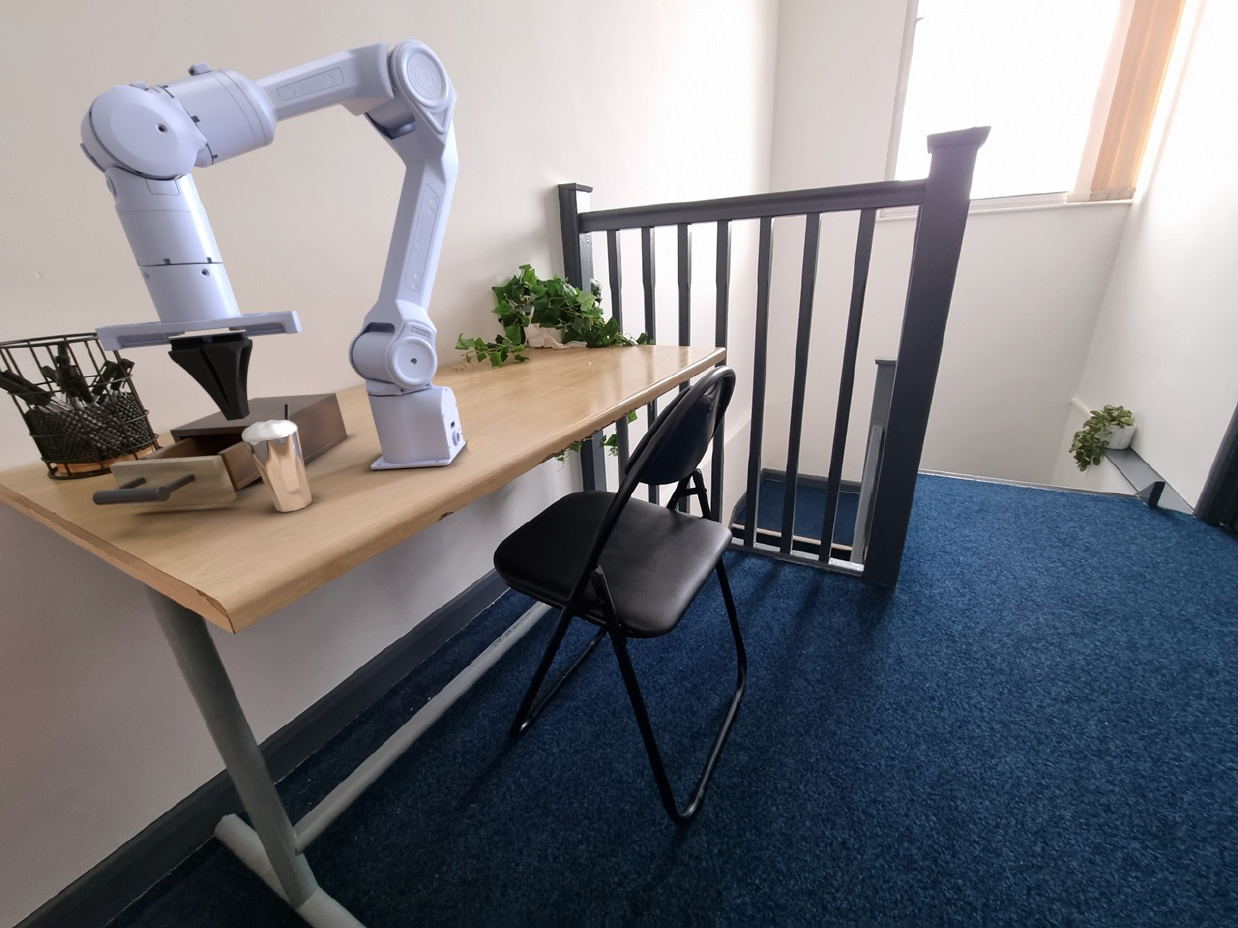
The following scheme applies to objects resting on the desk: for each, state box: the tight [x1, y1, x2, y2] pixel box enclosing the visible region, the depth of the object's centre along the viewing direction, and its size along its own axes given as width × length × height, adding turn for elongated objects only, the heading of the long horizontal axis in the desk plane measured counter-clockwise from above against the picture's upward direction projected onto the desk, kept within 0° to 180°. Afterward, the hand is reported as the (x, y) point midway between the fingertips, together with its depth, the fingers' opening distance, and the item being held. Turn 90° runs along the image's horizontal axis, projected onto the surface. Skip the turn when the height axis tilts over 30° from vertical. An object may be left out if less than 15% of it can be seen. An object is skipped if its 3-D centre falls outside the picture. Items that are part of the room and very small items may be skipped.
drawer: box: [91, 433, 261, 509], centre depth 54 cm, size 18×10×5 cm, turn 1°
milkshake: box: [242, 404, 313, 513], centre depth 50 cm, size 4×5×10 cm
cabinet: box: [169, 392, 348, 480], centre depth 65 cm, size 15×12×7 cm
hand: (238, 417), depth 48 cm, fingers closed
